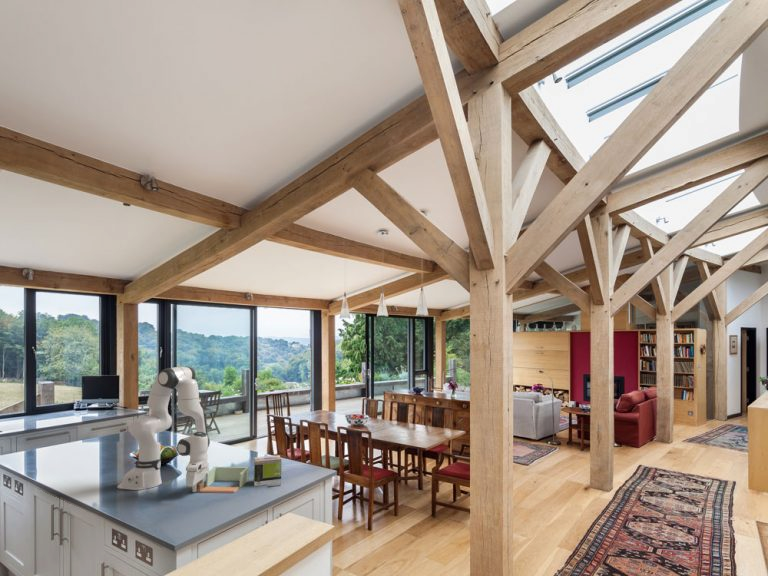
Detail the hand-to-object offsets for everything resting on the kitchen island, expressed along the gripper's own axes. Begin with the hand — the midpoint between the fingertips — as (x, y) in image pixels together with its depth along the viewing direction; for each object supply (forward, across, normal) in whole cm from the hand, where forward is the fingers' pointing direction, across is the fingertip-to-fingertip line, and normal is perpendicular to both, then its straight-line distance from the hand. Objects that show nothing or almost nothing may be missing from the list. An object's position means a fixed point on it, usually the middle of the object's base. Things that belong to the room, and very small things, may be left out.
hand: (197, 489), depth 239 cm
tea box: (+2, -15, +34) cm, 37 cm away
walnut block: (+2, 0, 0) cm, 2 cm away
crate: (+2, -12, +12) cm, 17 cm away
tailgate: (0, -5, +12) cm, 13 cm away
